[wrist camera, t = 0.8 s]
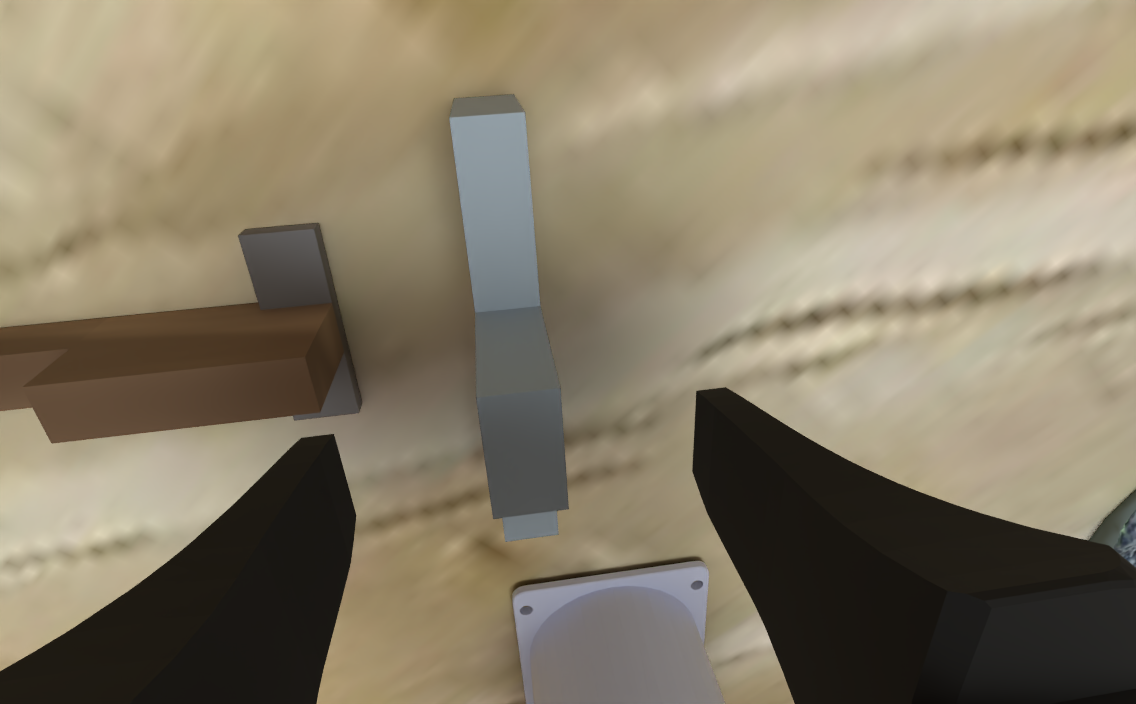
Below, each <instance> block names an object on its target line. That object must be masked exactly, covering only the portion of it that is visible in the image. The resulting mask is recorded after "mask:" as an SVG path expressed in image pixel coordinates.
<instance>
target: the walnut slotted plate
mask: <svg viewBox="0 0 1136 704" xmlns="http://www.w3.org/2000/svg"><path fill="white" fill-rule="evenodd" d="M238 237H239V241H240V244H241V247H242V251H243V254H244V257H245V260H246V264H247V267H248V270H249V274H250V277H251V280H252V283H253V287H254V290H255V293H256V297H257V300H258V303H251V304H241V305H231V306H221V307H210V308H200V309H190V310H180V311H169V312H159V313H149V314H139V315H129V316H118V317H108V318H98V319H88V320H78V321H67V322H57V323H47V324H37V325H27V326H16V327H6V328H0V411H5V410H14V409H23V408H33V409H34V411H35V413H36V415H37V417H38V419H39V421H40V422H41V424H42V426H43V428H44V430H45V432H46V434H47V436H48V438H49V439H50V441H51V443H60V442H68V441H77V440H86V439H94V438H103V437H112V436H120V435H129V434H138V433H147V432H155V431H164V430H173V429H181V428H190V427H199V426H207V425H216V424H225V423H234V422H242V421H251V420H260V419H268V418H277V417H286V416H293V418H294V420H303V419H312V418H320V417H329V416H338V415H346V414H355V413H359V412H360V408H361V405H362V401H361V397H360V393H359V388H358V384H357V380H356V376H355V372H354V368H353V364H352V359H351V355H350V351H349V347H348V343H347V339H346V335H345V330H344V326H343V322H342V318H341V314H340V310H339V305H338V301H337V297H336V293H335V289H334V285H333V281H332V276H331V272H330V268H329V264H328V260H327V256H326V252H325V247H324V243H323V239H322V235H321V231H320V227H319V223H312V224H301V225H289V226H278V227H266V228H255V229H245V230H244V231H243V232H241V233H240V234H239V235H238Z"/></svg>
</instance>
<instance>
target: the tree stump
mask: <svg viewBox="0 0 1136 704" xmlns="http://www.w3.org/2000/svg"><path fill="white" fill-rule="evenodd" d="M1089 541H1092V542H1096V543H1100V544H1105V545H1109V546H1110V547H1112V548H1113V549H1114V550H1115V551H1117V552H1118V553H1119V554H1120V555H1121V556H1123V557H1124V558H1125V559H1126V560H1127V561H1129V562H1130V563H1131V564H1132V565H1134V566H1135V567H1136V490H1135V491H1134V492H1133V493H1132V494H1131V495H1130V496H1128V497H1127V498H1126V499H1125V500H1124V501H1123V502H1122V503H1121V504H1120V505H1119V506H1118V507H1117V508H1116V509H1115V510H1114V511H1113V512H1112V513H1111V514H1110V515H1109V516H1108V517H1107V518H1105V520H1104V521H1103V522H1102V524H1101V525H1100V526H1099V528H1098V529H1097V530H1096V532H1095V533H1094V534H1093V536H1092V537H1091V538H1090V540H1089Z"/></svg>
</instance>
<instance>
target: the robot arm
mask: <svg viewBox="0 0 1136 704" xmlns="http://www.w3.org/2000/svg"><path fill="white" fill-rule="evenodd" d="M692 471H693V474H694V477H695V480H696V483H697V486H698V489H699V492H700V495H701V497H702V500H703V503H704V505H705V508H706V511H707V513H708V515H709V517H710V519H711V521H712V523H713V525H714V527H715V529H716V531H717V533H718V535H719V537H720V539H721V541H722V543H723V545H724V547H725V549H726V551H727V553H728V554H729V556H730V558H731V560H732V562H733V564H734V566H735V568H736V570H737V572H738V574H739V575H740V577H741V579H742V581H743V583H744V585H745V587H746V589H747V591H748V593H749V595H750V596H751V598H752V600H753V602H754V604H755V606H756V608H757V610H758V613H759V615H760V617H761V619H762V621H763V623H764V625H765V628H766V630H767V633H768V635H769V638H770V640H771V643H772V646H773V648H774V651H775V653H776V656H777V658H778V661H779V663H780V666H781V668H782V671H783V673H784V676H785V679H786V681H787V684H788V687H789V689H790V692H791V695H792V697H793V700H794V703H795V704H1136V567H1135V566H1134V565H1132V564H1131V563H1130V562H1129V561H1127V560H1126V559H1125V558H1124V557H1123V556H1121V555H1120V554H1119V553H1118V552H1117V551H1115V550H1114V549H1113V548H1112V547H1110V546H1109V545H1105V544H1100V543H1096V542H1092V541H1087V540H1083V539H1078V538H1074V537H1070V536H1065V535H1061V534H1056V533H1052V532H1048V531H1043V530H1039V529H1035V528H1031V527H1027V526H1023V525H1020V524H1016V523H1013V522H1009V521H1006V520H1002V519H999V518H995V517H992V516H988V515H985V514H982V513H978V512H975V511H972V510H969V509H966V508H963V507H960V506H957V505H954V504H951V503H948V502H946V501H943V500H940V499H937V498H935V497H932V496H929V495H926V494H924V493H921V492H918V491H916V490H913V489H911V488H908V487H906V486H903V485H901V484H898V483H896V482H894V481H892V480H889V479H887V478H885V477H883V476H880V475H878V474H876V473H874V472H871V471H869V470H867V469H865V468H863V467H861V466H859V465H857V464H855V463H853V462H851V461H849V460H847V459H845V458H843V457H841V456H839V455H837V454H835V453H834V452H832V451H830V450H828V449H826V448H824V447H822V446H821V445H819V444H817V443H815V442H814V441H812V440H810V439H808V438H807V437H805V436H803V435H802V434H800V433H798V432H797V431H795V430H793V429H792V428H790V427H788V426H787V425H785V424H784V423H782V422H780V421H779V420H777V419H776V418H774V417H772V416H771V415H769V414H768V413H766V412H765V411H763V410H761V409H760V408H758V407H757V406H755V405H754V404H752V403H750V402H749V401H747V400H746V399H744V398H743V397H741V396H739V395H738V394H736V393H734V392H733V391H731V390H729V389H727V388H726V387H725V388H717V389H709V390H700V391H696V411H695V431H694V451H693V470H692ZM355 522H356V513H355V509H354V505H353V502H352V498H351V495H350V491H349V487H348V484H347V480H346V476H345V473H344V469H343V465H342V462H341V458H340V454H339V451H338V447H337V444H336V440H335V436H334V434H330V435H321V436H313V437H305V438H301V439H300V440H299V441H297V442H296V443H295V444H294V445H293V446H292V447H291V448H290V449H289V450H288V451H287V452H286V453H285V454H284V455H283V456H282V457H281V458H280V459H279V460H278V461H277V462H276V463H275V464H274V465H273V466H272V467H271V468H270V469H269V470H268V471H267V472H266V473H265V474H264V475H263V476H262V477H261V478H260V479H259V480H258V481H257V482H256V483H255V484H254V485H253V486H252V487H251V488H250V489H249V490H248V491H247V492H246V493H245V494H244V495H243V496H242V497H241V498H240V499H239V500H238V501H237V502H236V503H235V504H234V505H232V506H231V507H230V508H229V509H228V510H227V511H226V512H225V513H224V514H222V515H221V516H220V517H219V518H218V519H217V520H216V521H215V522H214V523H212V524H211V525H210V526H209V527H208V528H207V529H206V530H205V531H203V532H202V533H201V534H200V535H199V536H198V537H197V538H196V539H195V540H193V541H192V542H191V543H190V544H189V545H188V546H186V547H185V548H184V549H183V550H182V551H180V552H179V553H178V554H177V555H175V556H174V557H173V558H172V559H170V560H169V561H168V562H167V563H165V564H164V565H163V566H161V567H160V568H159V569H157V570H156V571H155V572H154V573H152V574H151V575H150V576H148V577H147V578H146V579H144V580H143V581H142V582H140V583H139V584H138V585H136V586H135V587H133V588H132V589H131V590H129V591H128V592H126V593H125V594H123V595H122V596H120V597H119V598H117V599H116V600H114V601H113V602H111V603H110V604H109V605H107V606H106V607H104V608H103V609H101V610H100V611H98V612H97V613H95V614H94V615H92V616H91V617H89V618H88V619H86V620H85V621H83V622H82V623H80V624H79V625H77V626H76V627H74V628H73V629H71V630H69V631H68V632H66V633H65V634H63V635H61V636H60V637H58V638H56V639H55V640H53V641H51V642H50V643H48V644H46V645H45V646H43V647H42V648H40V649H38V650H37V651H35V652H33V653H31V654H30V655H28V656H26V657H24V658H23V659H21V660H19V661H17V662H16V663H14V664H12V665H10V666H9V667H7V668H5V669H3V670H2V671H0V704H316V703H317V697H318V692H319V687H320V682H321V678H322V673H323V669H324V665H325V661H326V657H327V653H328V650H329V646H330V642H331V638H332V634H333V630H334V627H335V623H336V619H337V615H338V611H339V608H340V604H341V600H342V596H343V592H344V588H345V584H346V580H347V576H348V572H349V568H350V564H351V557H352V549H353V542H354V532H355ZM697 580H698V581H697ZM694 581H696V582H694ZM708 582H709V571H708V568H707V566H706V564H705V563H704V562H701V561H691V562H684V563H677V564H670V565H663V566H656V567H649V568H642V569H635V570H629V571H622V572H615V573H608V574H601V575H594V576H587V577H580V578H573V579H566V580H559V581H553V582H546V583H539V584H532V585H525V586H521V587H518V588H517V589H515V590H514V592H513V594H512V601H513V609H514V617H515V624H516V632H517V639H518V647H519V654H520V662H521V669H522V677H523V684H524V692H525V699H526V704H726V703H725V701H724V698H723V695H722V693H721V690H720V687H719V685H718V682H717V679H716V677H715V674H714V671H713V669H712V666H711V663H710V661H709V658H708V655H707V653H706V650H705V647H704V638H705V624H706V610H707V596H708ZM524 606H528V607H524Z"/></svg>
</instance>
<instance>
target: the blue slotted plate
mask: <svg viewBox="0 0 1136 704" xmlns="http://www.w3.org/2000/svg"><path fill="white" fill-rule="evenodd" d="M449 119H450V127H451V134H452V142H453V149H454V157H455V164H456V172H457V179H458V187H459V194H460V202H461V210H462V217H463V225H464V232H465V240H466V247H467V255H468V262H469V270H470V278H471V285H472V293H473V300H474V308H475V343H476V400H477V407H478V414H479V421H480V429H481V436H482V443H483V450H484V457H485V464H486V471H487V478H488V485H489V492H490V499H491V506H492V513H493V519H499V518H502V519H503V527H504V534H505V542H508V541H515V540H522V539H530V538H537V537H544V536H551V535H559V534H558V521H557V511H558V510H566V509H569V506H568V492H567V477H566V462H565V447H564V433H563V418H562V403H561V388H560V384H559V380H558V376H557V372H556V368H555V364H554V360H553V355H552V351H551V347H550V343H549V339H548V335H547V331H546V327H545V323H544V319H543V315H542V311H541V306H540V295H539V282H538V270H537V257H536V245H535V232H534V219H533V207H532V194H531V182H530V169H529V157H528V144H527V131H526V119H525V111H524V110H523V108H522V106H521V105H520V103H519V102H518V100H517V98H516V97H515V95H514V94H511V95H496V96H482V97H468V98H454V101H453V105H452V109H451V113H450V117H449Z"/></svg>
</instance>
